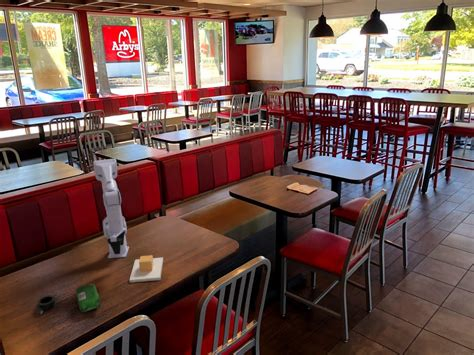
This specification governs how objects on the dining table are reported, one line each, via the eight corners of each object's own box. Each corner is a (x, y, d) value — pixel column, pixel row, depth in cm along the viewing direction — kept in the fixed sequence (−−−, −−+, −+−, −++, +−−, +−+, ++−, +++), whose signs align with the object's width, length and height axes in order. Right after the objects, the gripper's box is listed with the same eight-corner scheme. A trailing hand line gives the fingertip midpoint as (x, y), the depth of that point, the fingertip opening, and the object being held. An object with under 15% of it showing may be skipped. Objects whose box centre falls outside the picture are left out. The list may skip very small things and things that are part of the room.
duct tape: (28, 309, 138) (27, 303, 137) (55, 296, 146) (54, 289, 145) (38, 318, 134) (37, 311, 133) (66, 303, 141) (64, 297, 140)
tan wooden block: (141, 265, 163) (140, 256, 161) (153, 264, 163) (152, 255, 162) (140, 271, 158) (138, 262, 157) (152, 270, 158) (151, 261, 157)
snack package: (80, 319, 132) (78, 306, 131) (76, 295, 146) (74, 283, 144) (102, 313, 135) (100, 300, 134) (96, 290, 149) (94, 278, 147)
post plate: (135, 262, 168) (134, 253, 167) (163, 259, 169) (162, 251, 168) (129, 282, 153) (128, 273, 151) (160, 279, 154) (159, 270, 153)
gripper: (121, 226, 149) (126, 257, 153) (127, 211, 163) (131, 240, 167) (103, 227, 149) (108, 258, 153) (110, 213, 162) (115, 241, 166)
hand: (119, 249), depth 160 cm, fingers open, 7 cm apart
